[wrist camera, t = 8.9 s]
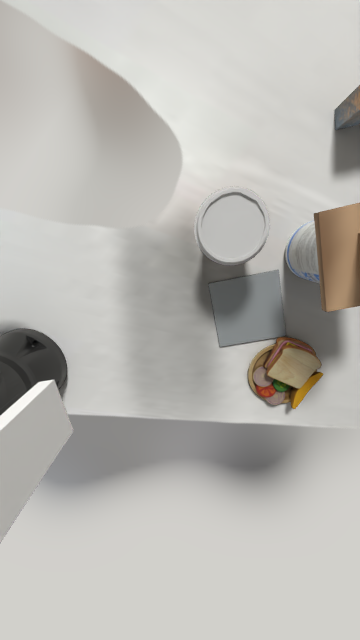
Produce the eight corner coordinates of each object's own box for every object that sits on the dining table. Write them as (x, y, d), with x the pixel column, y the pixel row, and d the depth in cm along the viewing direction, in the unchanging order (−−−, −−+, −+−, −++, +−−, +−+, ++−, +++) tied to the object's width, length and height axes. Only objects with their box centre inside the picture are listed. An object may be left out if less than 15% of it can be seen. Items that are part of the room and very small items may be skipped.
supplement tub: (283, 281, 45) (322, 298, 31) (283, 223, 42) (326, 212, 28) (342, 276, 44) (410, 290, 30) (346, 216, 41) (422, 201, 27)
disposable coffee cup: (263, 239, 43) (287, 237, 32) (214, 271, 45) (220, 280, 34) (233, 187, 41) (246, 165, 30) (184, 224, 43) (178, 216, 32)
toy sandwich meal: (234, 379, 51) (237, 392, 46) (277, 323, 47) (285, 332, 43) (286, 410, 52) (294, 426, 48) (331, 358, 48) (345, 370, 44)
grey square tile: (219, 346, 49) (219, 346, 49) (208, 283, 46) (208, 283, 45) (285, 335, 47) (285, 335, 47) (278, 269, 44) (278, 269, 44)
